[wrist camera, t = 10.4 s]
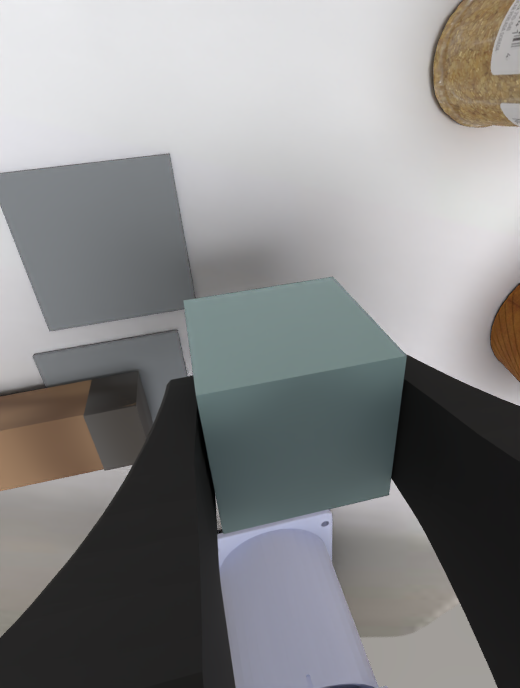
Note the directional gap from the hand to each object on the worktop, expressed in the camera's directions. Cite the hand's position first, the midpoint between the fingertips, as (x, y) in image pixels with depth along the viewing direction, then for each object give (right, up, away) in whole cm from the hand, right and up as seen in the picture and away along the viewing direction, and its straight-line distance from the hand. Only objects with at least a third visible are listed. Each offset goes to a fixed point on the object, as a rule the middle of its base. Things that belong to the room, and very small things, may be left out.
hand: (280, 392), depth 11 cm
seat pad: (-6, +5, +6) cm, 10 cm away
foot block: (0, +1, +1) cm, 2 cm away
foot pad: (-7, -1, +9) cm, 11 cm away
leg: (-12, -2, +8) cm, 14 cm away
